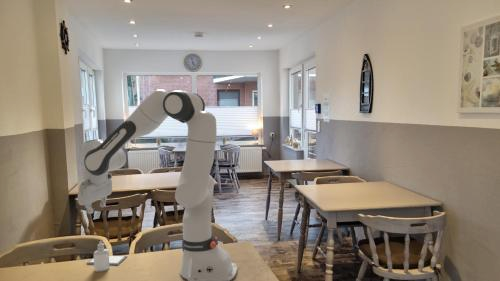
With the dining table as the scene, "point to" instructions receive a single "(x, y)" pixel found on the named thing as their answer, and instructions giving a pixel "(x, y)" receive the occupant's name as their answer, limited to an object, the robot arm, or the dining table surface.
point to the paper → (113, 259)
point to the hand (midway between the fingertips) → (96, 210)
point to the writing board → (110, 263)
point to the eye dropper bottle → (101, 258)
